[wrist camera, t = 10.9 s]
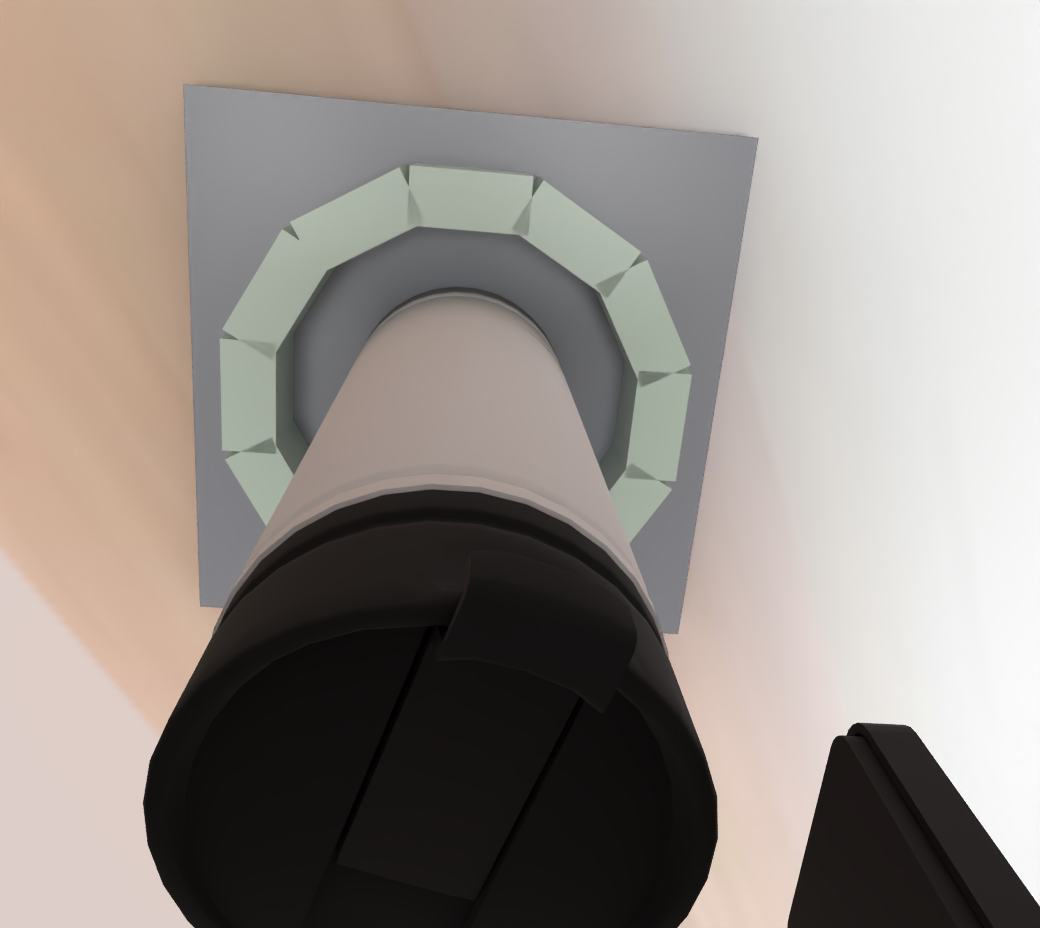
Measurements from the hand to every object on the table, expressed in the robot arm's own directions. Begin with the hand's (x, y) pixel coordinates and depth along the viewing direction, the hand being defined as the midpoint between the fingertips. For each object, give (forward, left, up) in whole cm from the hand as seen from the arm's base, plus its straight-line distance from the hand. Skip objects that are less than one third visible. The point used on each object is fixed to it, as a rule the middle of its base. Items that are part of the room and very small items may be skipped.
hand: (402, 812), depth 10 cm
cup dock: (0, 0, -20) cm, 20 cm away
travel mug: (0, 0, -19) cm, 19 cm away
